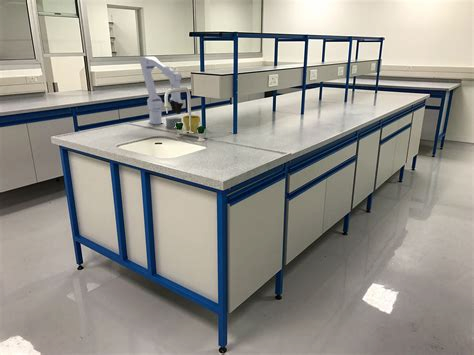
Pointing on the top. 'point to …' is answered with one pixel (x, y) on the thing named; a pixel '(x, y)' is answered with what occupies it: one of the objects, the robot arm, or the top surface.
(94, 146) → the top surface
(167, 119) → the grey block
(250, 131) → the top surface
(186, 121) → the plant pot
